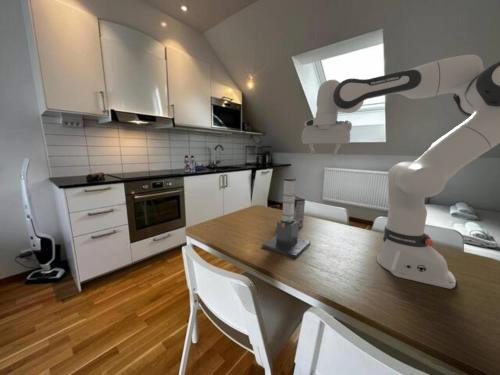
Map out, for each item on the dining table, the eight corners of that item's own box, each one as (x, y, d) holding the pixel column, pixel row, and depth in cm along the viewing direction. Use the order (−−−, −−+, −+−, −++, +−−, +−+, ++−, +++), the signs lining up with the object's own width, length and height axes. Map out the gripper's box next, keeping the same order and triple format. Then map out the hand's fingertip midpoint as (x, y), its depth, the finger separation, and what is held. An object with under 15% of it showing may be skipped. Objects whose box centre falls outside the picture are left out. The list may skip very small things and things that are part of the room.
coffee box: (285, 222, 122) (286, 196, 119) (293, 221, 125) (295, 195, 122) (294, 228, 114) (296, 200, 111) (303, 226, 116) (305, 199, 114)
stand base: (310, 244, 94) (312, 220, 92) (295, 258, 82) (297, 230, 79) (279, 235, 104) (280, 213, 102) (262, 247, 91) (262, 221, 89)
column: (293, 229, 92) (296, 178, 87) (289, 231, 88) (292, 179, 84) (285, 226, 94) (287, 177, 90) (281, 229, 91) (283, 178, 87)
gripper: (353, 120, 85) (350, 154, 87) (306, 124, 97) (304, 153, 99) (350, 118, 80) (347, 154, 82) (301, 122, 92) (299, 153, 94)
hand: (323, 154), depth 91 cm, fingers open, 8 cm apart
